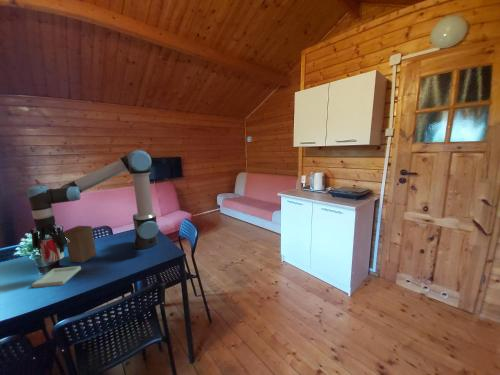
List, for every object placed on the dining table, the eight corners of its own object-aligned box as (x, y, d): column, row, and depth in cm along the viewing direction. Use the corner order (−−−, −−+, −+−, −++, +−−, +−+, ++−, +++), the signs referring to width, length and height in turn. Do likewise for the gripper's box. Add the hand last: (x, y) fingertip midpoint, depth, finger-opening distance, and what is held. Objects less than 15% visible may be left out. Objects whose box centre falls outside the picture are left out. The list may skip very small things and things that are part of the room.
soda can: (58, 261, 110) (53, 240, 107) (41, 264, 108) (35, 242, 105) (65, 255, 116) (60, 234, 114) (49, 257, 114) (44, 236, 112)
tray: (81, 269, 122) (80, 265, 121) (63, 284, 108) (62, 281, 108) (54, 271, 120) (53, 268, 120) (32, 288, 107) (31, 284, 106)
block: (82, 263, 128) (76, 232, 124) (69, 262, 130) (62, 231, 126) (97, 255, 138) (91, 225, 134) (84, 254, 140) (78, 224, 136)
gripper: (70, 213, 112) (79, 253, 117) (28, 215, 110) (38, 256, 114) (60, 217, 105) (69, 260, 109) (14, 220, 103) (25, 264, 107)
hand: (53, 258), depth 112 cm, fingers closed on soda can, 7 cm apart
